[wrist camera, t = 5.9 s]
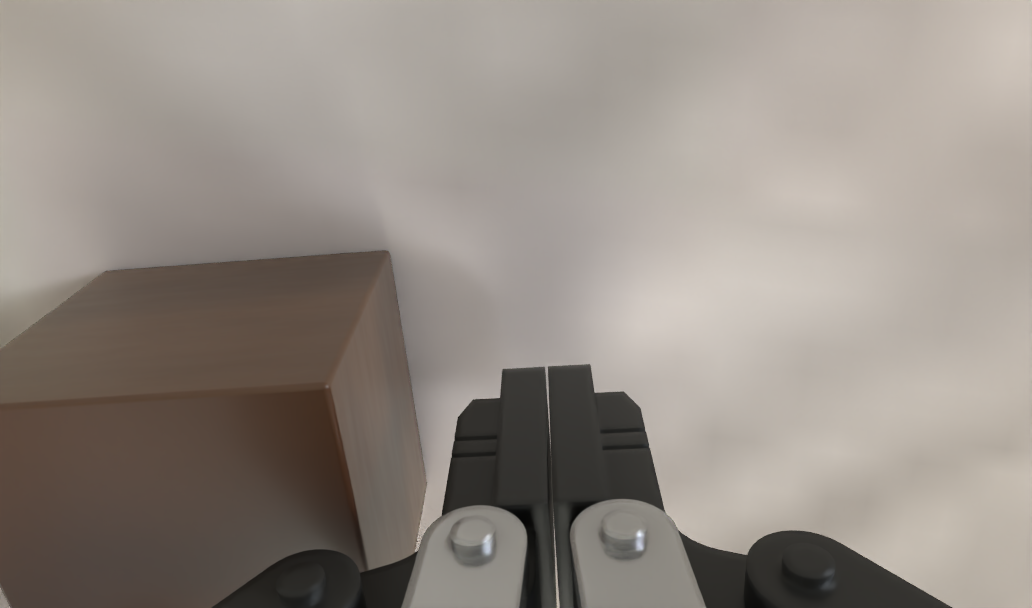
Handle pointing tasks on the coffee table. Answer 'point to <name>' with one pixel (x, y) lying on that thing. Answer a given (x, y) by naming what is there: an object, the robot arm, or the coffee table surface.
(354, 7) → the coffee table surface
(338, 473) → the walnut block
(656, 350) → the coffee table surface
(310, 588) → the robot arm
